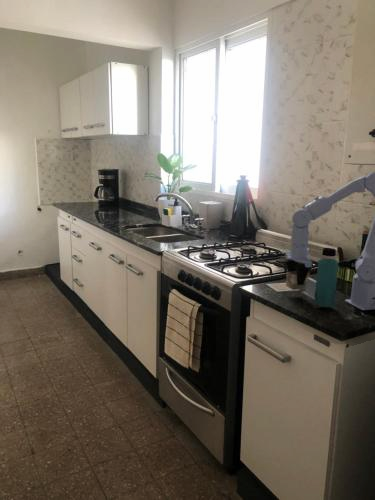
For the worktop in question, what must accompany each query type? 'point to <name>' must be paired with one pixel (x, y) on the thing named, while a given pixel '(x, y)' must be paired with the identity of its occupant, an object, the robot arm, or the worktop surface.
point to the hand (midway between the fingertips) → (296, 282)
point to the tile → (280, 287)
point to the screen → (310, 288)
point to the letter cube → (294, 281)
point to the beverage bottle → (326, 279)
